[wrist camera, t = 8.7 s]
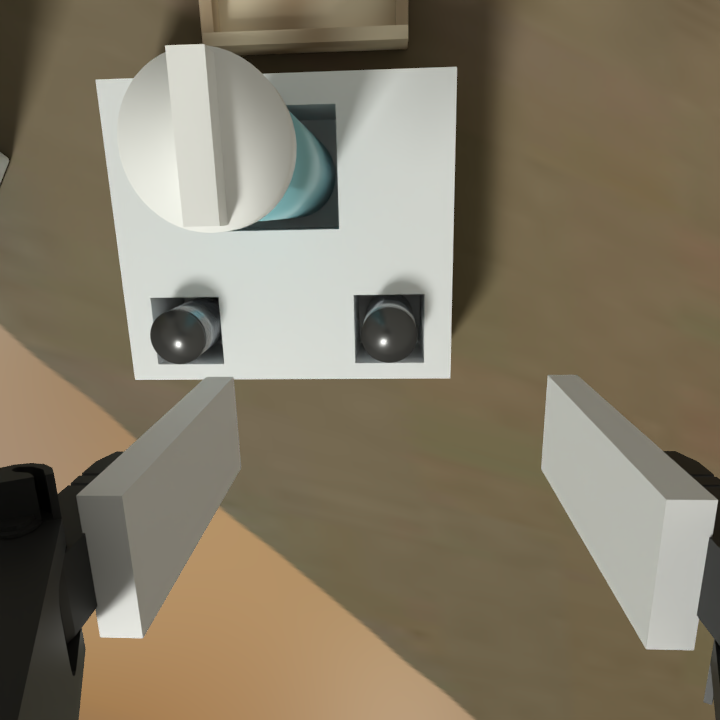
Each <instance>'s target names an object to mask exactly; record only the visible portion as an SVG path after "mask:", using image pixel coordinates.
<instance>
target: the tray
mask: <svg viewBox="0 0 720 720" xmlns="http://www.w3.org/2000/svg"><path fill="white" fill-rule="evenodd" d="M199 9H200V20H201V32H202V44H205V45H208V46H213V47H218V48H221V49H224V50H227V51H230V52H232V53H234V54H236V55H238V56H239V55H266V54H292V53H318V52H345V51H371V50H398V49H407V46H408V0H199Z"/></svg>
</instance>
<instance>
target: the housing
mask: <svg viewBox="0 0 720 720" xmlns="http://www.w3.org/2000/svg"><path fill="white" fill-rule="evenodd" d="M263 75H264V76H265V77H266V78H267V79H268V80H269V82H270V83H271V84H272V85H273V86H274V87H275V88H276V90H277V91H278V93H279V94H280V96H281V97H282V99H283V100H284V102H285V104H286V106H287V108H288V110H289V111H290V112H291V113H292V114H293V115H294V116H295V117H296V118H297V119H298V120H299V121H300V122H301V123H302V124H303V125H304V126H305V127H306V128H307V129H308V130H309V131H310V132H311V133H312V134H313V135H314V136H315V137H316V138H317V139H318V140H319V141H320V142H321V143H322V144H323V145H324V146H325V147H326V148H327V150H328V151H329V153H330V155H331V157H332V159H333V162H334V166H335V174H336V176H335V185H334V189H333V192H332V194H331V196H330V198H329V200H328V201H327V203H326V204H325V205H324V206H323V207H322V208H321V209H320V210H318V211H317V212H315V213H313V214H311V215H309V216H306V217H301V218H290V219H279V220H268V221H257V222H255V223H253V224H252V225H249V226H247V227H244V228H241V229H237V230H233V231H226V232H216V233H203V232H196V231H190V230H187V229H184V228H181V227H178V226H176V225H174V224H172V223H170V222H168V221H166V220H165V219H163V218H161V217H160V216H158V215H157V214H156V213H155V212H154V211H152V210H151V209H150V208H149V207H148V206H147V205H146V204H145V203H144V202H143V201H142V200H141V198H140V197H139V196H138V194H137V193H136V192H135V190H134V189H133V187H132V185H131V183H130V182H129V180H128V178H127V176H126V173H125V171H124V169H123V165H122V162H121V159H120V155H119V149H118V142H117V123H118V116H119V110H120V107H121V103H122V100H123V97H124V95H125V93H126V91H127V89H128V87H129V85H130V83H131V82H132V80H133V79H134V78H129V79H102V80H96V87H97V94H98V102H99V109H100V117H101V125H102V132H103V140H104V147H105V155H106V162H107V170H108V177H109V185H110V193H111V200H112V208H113V215H114V223H115V230H116V238H117V245H118V253H119V261H120V268H121V276H122V283H123V291H124V298H125V306H126V313H127V321H128V329H129V336H130V344H131V351H132V359H133V366H134V374H135V380H180V379H205V378H206V377H234V379H387V378H450V366H451V321H452V276H453V231H454V186H455V141H456V96H457V67H436V68H408V69H380V70H352V71H324V72H296V73H269V74H263ZM398 294H401V295H403V296H404V297H405V298H406V299H407V300H408V301H409V303H410V304H411V307H412V310H413V315H414V319H415V324H416V328H417V342H416V345H415V347H414V349H413V351H412V352H411V353H410V354H409V355H408V356H407V357H406V358H404V359H403V360H401V361H398V362H394V363H385V362H381V361H378V360H376V359H374V358H373V357H371V356H370V355H369V354H368V353H367V351H366V350H365V348H364V346H363V344H362V340H361V331H362V327H363V322H364V318H365V314H366V310H367V306H368V304H369V302H370V301H371V300H372V299H373V298H374V297H375V296H376V295H398ZM197 297H219V309H220V320H221V331H222V339H221V340H219V341H218V342H217V343H216V344H214V345H213V346H212V347H210V348H209V349H208V350H206V351H205V352H204V353H203V354H201V355H200V356H199V357H197V358H196V359H195V360H193V361H191V362H189V363H186V364H174V363H170V362H168V361H166V360H164V359H163V358H162V357H160V356H159V355H158V354H157V352H156V351H155V350H154V348H153V346H152V343H151V339H150V331H151V327H152V324H153V322H154V321H155V319H156V318H157V317H158V316H160V315H161V314H163V313H165V312H167V311H169V310H171V309H173V308H175V307H178V306H180V305H182V304H184V303H186V302H189V301H191V300H193V299H195V298H197Z"/></svg>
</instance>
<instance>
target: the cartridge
mask: <svg viewBox="0 0 720 720" xmlns="http://www.w3.org/2000/svg"><path fill="white" fill-rule="evenodd" d="M165 51H166V52H165V53H162V54H160V55H159V56H157V57H156V58H154V59H152V60H151V61H150V62H149V63H148V64H146V65H145V66H144V67H143V68H142V69H141V70H140V71H139V72H138V74H137V75H136V76H135V77H134V79H133V80H132V82H131V83H130V85H129V87H128V89H127V91H126V93H125V95H124V97H123V100H122V103H121V107H120V110H119V116H118V123H117V142H118V149H119V155H120V159H121V162H122V165H123V169H124V171H125V173H126V176H127V178H128V180H129V182H130V183H131V185H132V187H133V189H134V190H135V192H136V193H137V194H138V196H139V197H140V198H141V200H142V201H143V202H144V203H145V204H146V205H147V206H148V207H149V208H150V209H151V210H152V211H154V212H155V213H156V214H157V215H158V216H160V217H161V218H163V219H165V220H166V221H168V222H170V223H172V224H174V225H176V226H178V227H181V228H184V229H187V230H190V231H196V232H203V233H216V232H226V231H233V230H237V229H241V228H244V227H247V226H249V225H252V224H253V223H255V222H257V221H268V220H279V219H290V218H301V217H306V216H309V215H311V214H313V213H315V212H317V211H318V210H320V209H321V208H322V207H323V206H324V205H325V204H326V203H327V201H328V200H329V198H330V196H331V194H332V192H333V189H334V185H335V176H336V174H335V166H334V162H333V159H332V157H331V155H330V153H329V151H328V150H327V148H326V147H325V146H324V145H323V144H322V143H321V142H320V141H319V140H318V139H317V138H316V137H315V136H314V135H313V134H312V133H311V132H310V131H309V130H308V129H307V128H306V127H305V126H304V125H303V124H302V123H301V122H300V121H299V120H298V119H297V118H296V117H295V116H294V115H293V114H292V113H291V112H290V111H289V110H288V108H287V106H286V104H285V102H284V100H283V99H282V97H281V96H280V94H279V93H278V91H277V90H276V88H275V87H274V86H273V85H272V84H271V83H270V82H269V80H268V79H267V78H266V77H265V76H264V75H263V74H262V73H261V72H260V71H259V70H258V69H257V68H255V67H254V66H253V65H252V64H251V63H249V62H248V61H246V60H245V59H243V58H242V57H240V56H238V55H236V54H234V53H232V52H230V51H227V50H224V49H221V48H218V47H213V46H208V45H205V44H189V45H165Z"/></svg>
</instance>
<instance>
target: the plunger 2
mask: <svg viewBox="0 0 720 720" xmlns="http://www.w3.org/2000/svg"><path fill="white" fill-rule="evenodd" d="M361 340H362V344H363V346H364V348H365V350H366V351H367V353H368V354H369V355H370V356H371V357H373V358H374V359H376V360H378V361H381V362H385V363H394V362H398V361H401V360H403V359H404V358H406V357H407V356H408V355H409V354H410V353H411V352H412V351H413V349H414V347H415V345H416V342H417V328H416V324H415V319H414V315H413V310H412V307H411V304H410V303H409V301H408V300H407V299H406V298H405V297H404V296H403V295H401V294H398V295H376V296H375V297H374V298H373V299H372V300H371V301H370V302H369V304H368V306H367V310H366V314H365V318H364V322H363V327H362V331H361Z"/></svg>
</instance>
